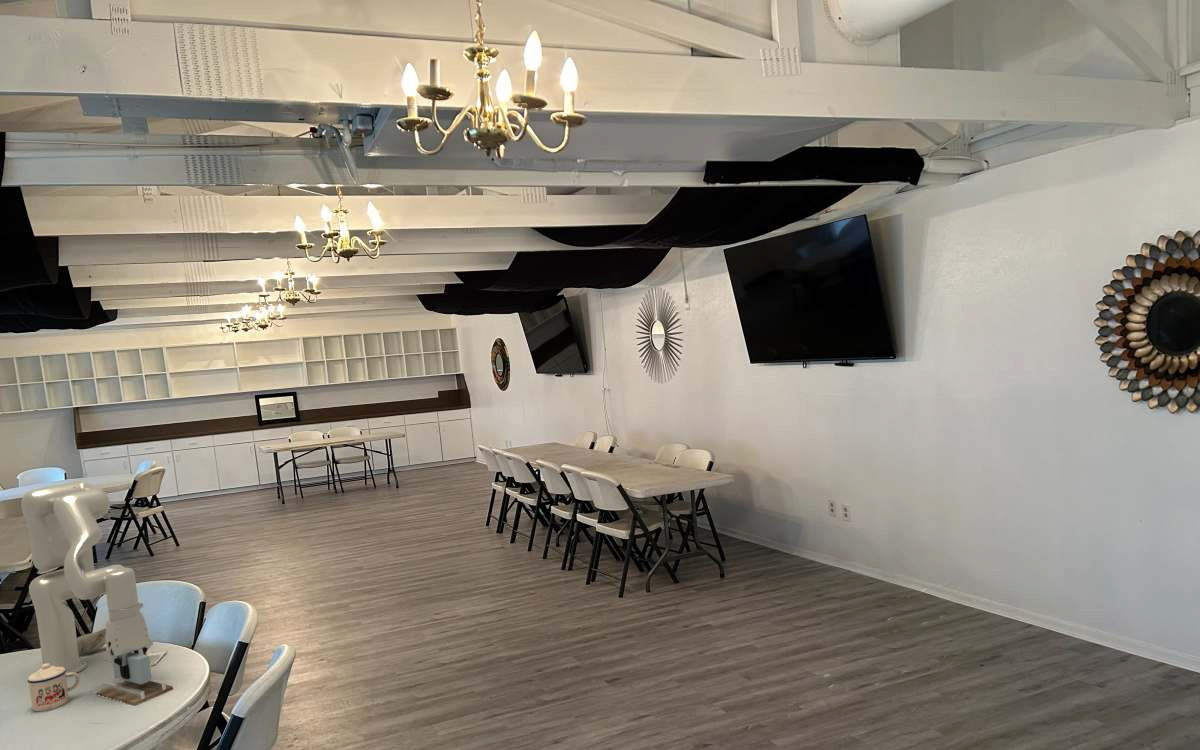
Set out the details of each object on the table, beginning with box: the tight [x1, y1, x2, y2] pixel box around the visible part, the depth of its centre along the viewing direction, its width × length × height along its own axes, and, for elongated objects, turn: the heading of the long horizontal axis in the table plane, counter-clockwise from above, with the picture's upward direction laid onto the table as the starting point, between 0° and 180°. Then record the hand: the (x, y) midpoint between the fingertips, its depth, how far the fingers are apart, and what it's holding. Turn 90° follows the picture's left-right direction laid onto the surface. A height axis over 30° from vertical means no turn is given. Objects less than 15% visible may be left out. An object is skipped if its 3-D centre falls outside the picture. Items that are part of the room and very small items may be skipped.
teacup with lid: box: [27, 663, 80, 712], centre depth 234 cm, size 12×9×12 cm
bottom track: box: [95, 678, 174, 706], centre depth 237 cm, size 20×11×3 cm, turn 58°
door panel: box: [112, 651, 153, 684], centre depth 236 cm, size 14×3×7 cm, turn 58°
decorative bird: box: [77, 627, 106, 656], centre depth 275 cm, size 5×16×8 cm, turn 117°
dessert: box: [145, 650, 168, 666], centre depth 262 cm, size 12×12×5 cm
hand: (132, 675), depth 237 cm, fingers closed on door panel, 3 cm apart
